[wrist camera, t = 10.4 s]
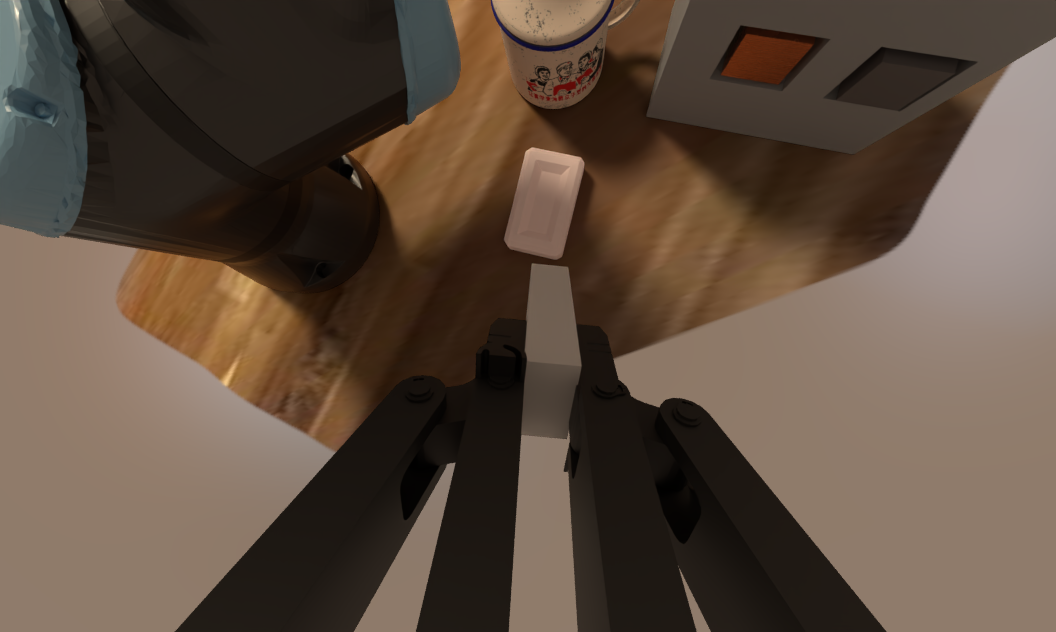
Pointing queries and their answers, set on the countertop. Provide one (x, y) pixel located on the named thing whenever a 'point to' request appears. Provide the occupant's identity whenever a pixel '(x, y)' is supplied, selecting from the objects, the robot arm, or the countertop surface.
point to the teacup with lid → (557, 45)
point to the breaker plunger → (764, 54)
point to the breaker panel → (840, 64)
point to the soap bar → (544, 203)
